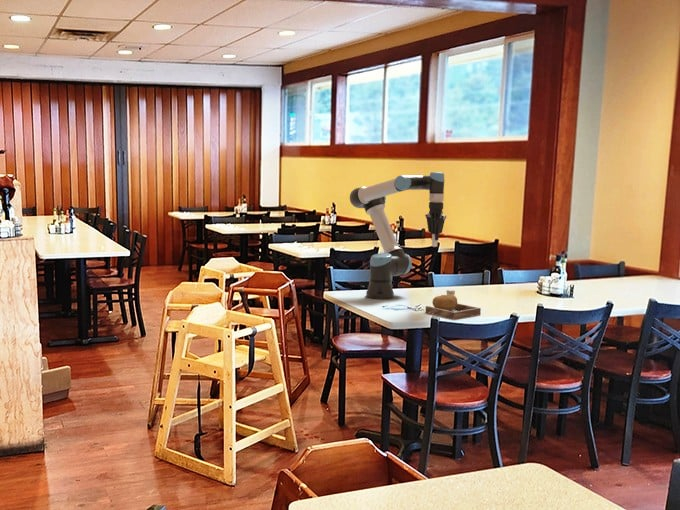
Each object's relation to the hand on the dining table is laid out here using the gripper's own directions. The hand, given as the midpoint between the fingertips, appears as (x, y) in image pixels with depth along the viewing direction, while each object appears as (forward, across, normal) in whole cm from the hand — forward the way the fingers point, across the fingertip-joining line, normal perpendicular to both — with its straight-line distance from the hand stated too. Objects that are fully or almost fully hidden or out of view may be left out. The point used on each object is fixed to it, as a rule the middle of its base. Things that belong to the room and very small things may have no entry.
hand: (434, 246), depth 372 cm
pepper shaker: (+29, +15, -3) cm, 33 cm away
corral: (+29, +27, -15) cm, 43 cm away
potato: (+30, +21, -15) cm, 39 cm away
